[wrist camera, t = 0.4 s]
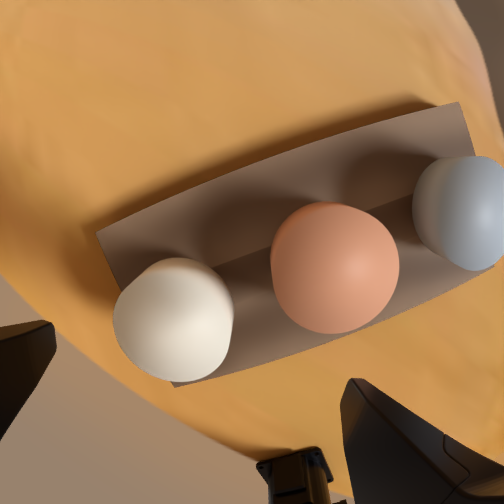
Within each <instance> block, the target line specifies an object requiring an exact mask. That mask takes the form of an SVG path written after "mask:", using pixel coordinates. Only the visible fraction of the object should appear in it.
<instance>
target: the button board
mask: <svg viewBox="0 0 504 504" xmlns="http://www.w3.org/2000/svg"><path fill="white" fill-rule="evenodd" d="M465 156H475V152H474V148H473V145H472V141H471V138H470V134H469V131H468V128H467V125H466V122H465V118H464V115H463V112H462V110H461V107H460V104H459V102H455V103H451V104H446V105H442V106H438V107H433V108H429V109H425V110H421V111H417V112H413V113H410V114H406V115H402V116H398V117H395V118H391V119H387V120H384V121H380V122H377V123H373V124H370V125H366V126H363V127H360V128H356V129H353V130H350V131H346V132H343V133H340V134H337V135H334V136H331V137H327V138H324V139H321V140H318V141H315V142H312V143H309V144H306V145H303V146H300V147H298V148H295V149H292V150H289V151H286V152H283V153H280V154H278V155H275V156H272V157H269V158H267V159H264V160H261V161H259V162H256V163H253V164H251V165H248V166H245V167H243V168H240V169H238V170H235V171H232V172H230V173H227V174H225V175H222V176H220V177H217V178H215V179H212V180H210V181H207V182H205V183H203V184H200V185H198V186H195V187H193V188H191V189H188V190H186V191H184V192H181V193H179V194H177V195H174V196H172V197H170V198H167V199H165V200H163V201H161V202H158V203H156V204H154V205H152V206H150V207H147V208H145V209H143V210H141V211H139V212H137V213H134V214H132V215H130V216H128V217H126V218H124V219H122V220H120V221H117V222H115V223H113V224H111V225H109V226H107V227H105V228H103V229H101V230H99V231H97V232H95V234H96V236H97V238H98V241H99V243H100V245H101V248H102V250H103V252H104V255H105V257H106V259H107V261H108V264H109V266H110V268H111V270H112V273H113V275H114V277H115V279H116V281H117V283H118V285H119V287H120V289H121V292H123V290H124V289H125V288H126V287H127V286H128V285H130V284H131V283H132V282H133V281H134V280H135V279H136V278H137V277H138V276H139V275H141V274H142V273H143V272H144V271H145V270H146V269H147V268H148V267H150V266H151V265H153V264H154V263H156V262H158V261H161V260H164V259H168V258H188V259H192V260H195V261H198V262H201V263H203V264H205V265H206V266H208V267H210V268H211V269H212V270H214V271H215V272H216V273H217V274H218V275H219V276H220V277H221V278H222V279H223V280H224V282H225V283H226V285H227V286H228V288H229V290H230V292H231V295H232V298H233V303H234V320H233V326H232V332H231V338H230V343H229V348H228V352H227V354H226V357H225V358H224V360H223V362H222V363H221V364H220V365H219V367H218V368H217V369H216V370H214V371H213V372H212V373H210V374H209V375H207V376H205V377H203V378H201V379H197V380H194V381H189V382H173V381H171V383H172V385H173V386H174V388H175V387H180V386H184V385H188V384H192V383H196V382H200V381H204V380H208V379H212V378H216V377H220V376H223V375H227V374H231V373H234V372H238V371H241V370H245V369H248V368H252V367H255V366H258V365H262V364H265V363H268V362H271V361H275V360H278V359H281V358H284V357H287V356H290V355H293V354H296V353H299V352H302V351H305V350H308V349H311V348H314V347H316V346H319V345H322V344H325V343H328V342H330V341H333V340H336V339H338V338H341V337H344V336H346V335H349V334H351V333H354V332H357V331H359V330H362V329H364V328H367V327H369V326H372V325H374V324H376V323H379V322H381V321H384V320H386V319H388V318H391V317H393V316H395V315H398V314H400V313H402V312H405V311H407V310H409V309H411V308H413V307H416V306H418V305H420V304H422V303H424V302H426V301H429V300H431V299H433V298H435V297H437V296H439V295H441V294H443V293H445V292H447V291H449V290H451V289H453V288H455V287H457V286H459V285H461V284H463V283H465V282H467V281H469V280H471V279H473V278H475V277H477V276H478V275H480V274H482V273H484V272H486V271H488V270H489V269H491V268H493V267H494V264H493V265H492V266H490V267H488V268H486V269H483V270H479V271H471V270H467V269H464V268H462V267H460V266H458V265H456V264H454V263H452V262H451V261H449V260H447V259H445V258H443V257H441V256H439V255H437V254H435V253H433V252H432V251H430V250H429V249H428V248H427V247H426V246H425V245H424V244H423V243H422V241H421V240H420V238H419V236H418V234H417V232H416V229H415V226H414V222H413V217H412V200H413V194H414V190H415V187H416V184H417V182H418V180H419V178H420V176H421V174H422V173H423V171H424V170H425V169H426V168H427V167H428V166H429V165H430V164H431V163H433V162H434V161H436V160H438V159H441V158H445V157H465ZM322 201H331V202H338V203H342V204H345V205H348V206H350V207H353V208H356V209H358V210H361V211H363V212H365V213H368V214H370V215H371V216H373V217H374V218H376V219H377V220H378V221H380V222H381V223H382V224H383V225H384V226H385V227H386V229H387V230H388V231H389V233H390V234H391V236H392V238H393V240H394V242H395V244H396V248H397V251H398V256H399V276H398V280H397V284H396V287H395V290H394V292H393V294H392V297H391V298H390V300H389V302H388V303H387V305H386V306H385V307H384V308H383V310H382V311H381V312H380V313H379V314H378V315H377V316H376V317H375V318H373V319H372V320H371V321H370V322H368V323H366V324H365V325H363V326H361V327H359V328H357V329H354V330H351V331H348V332H344V333H338V334H324V333H318V332H314V331H311V330H308V329H306V328H304V327H302V326H300V325H299V324H297V323H295V322H294V321H293V320H292V319H291V318H290V317H289V316H288V315H287V314H286V313H285V312H284V310H283V309H282V307H281V306H280V304H279V302H278V300H277V298H276V295H275V291H274V287H273V280H272V272H271V264H270V253H271V246H272V242H273V239H274V237H275V234H276V232H277V231H278V229H279V227H280V226H281V225H282V223H283V222H284V221H285V220H286V219H287V218H288V217H289V216H290V215H291V214H292V213H293V212H295V211H296V210H298V209H300V208H301V207H304V206H306V205H308V204H312V203H315V202H322Z"/></svg>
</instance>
